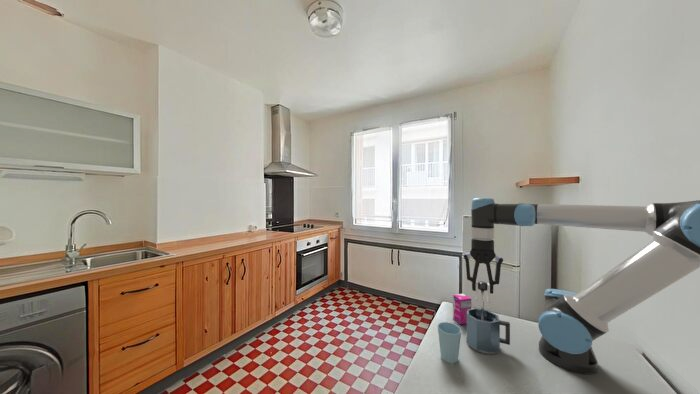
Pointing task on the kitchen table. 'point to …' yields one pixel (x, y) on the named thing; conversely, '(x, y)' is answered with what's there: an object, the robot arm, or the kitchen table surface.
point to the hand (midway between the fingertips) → (482, 300)
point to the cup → (449, 341)
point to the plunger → (482, 299)
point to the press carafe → (485, 332)
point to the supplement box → (461, 308)
